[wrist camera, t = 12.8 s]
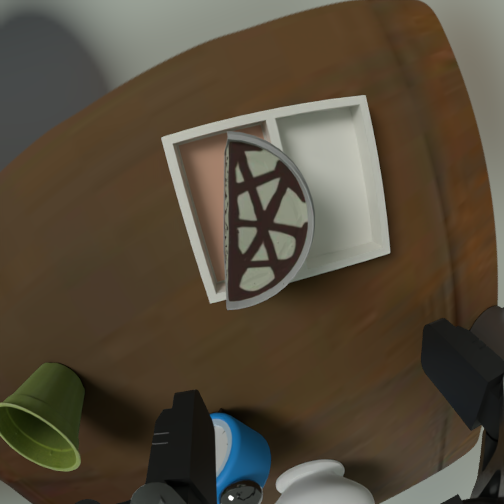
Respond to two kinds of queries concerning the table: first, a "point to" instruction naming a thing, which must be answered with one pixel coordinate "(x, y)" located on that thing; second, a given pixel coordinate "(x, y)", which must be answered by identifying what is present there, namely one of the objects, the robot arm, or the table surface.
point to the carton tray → (311, 167)
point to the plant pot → (45, 417)
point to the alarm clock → (239, 461)
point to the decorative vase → (320, 485)
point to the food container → (262, 220)
